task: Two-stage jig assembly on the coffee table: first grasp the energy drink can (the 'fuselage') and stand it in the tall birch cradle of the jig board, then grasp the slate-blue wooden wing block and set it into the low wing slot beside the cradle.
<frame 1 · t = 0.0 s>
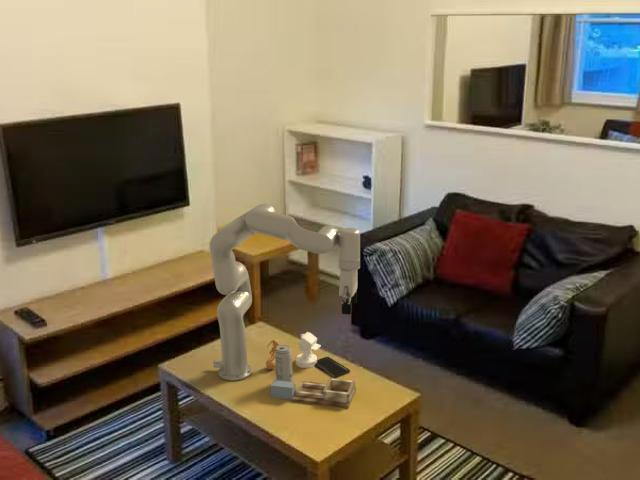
hand: (349, 308, 251), 31 cm above the table, fingers open, 9 cm apart
figurine: (273, 368, 275), on the table
character figurine: (307, 363, 279), on the table
energy drink can: (284, 384, 263), on the table
jig: (324, 395, 255), on the table
wing block: (283, 396, 255), on the table
phone: (331, 369, 275), on the table
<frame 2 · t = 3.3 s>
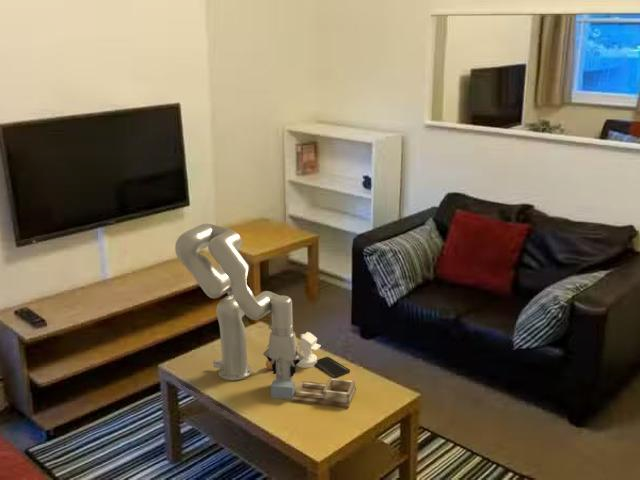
hand: (284, 373, 262), 5 cm above the table, fingers closed on energy drink can, 6 cm apart
energy drink can: (284, 384, 263), on the table, touching gripper
everything else where it was.
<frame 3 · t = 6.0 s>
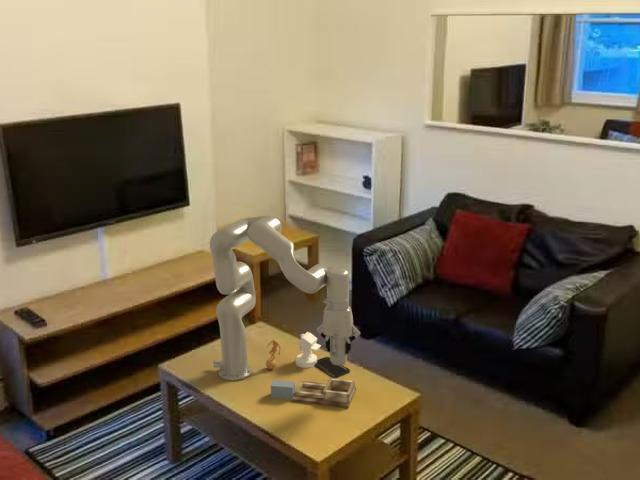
hand: (338, 350, 248), 19 cm above the table, fingers closed on energy drink can, 6 cm apart
energy drink can: (338, 362, 249), point 14 cm above the table, touching gripper
everything else where it was.
when the fingers open (7 cm above the table, at t = 8.6 s): energy drink can drops 1 cm, resting on jig.
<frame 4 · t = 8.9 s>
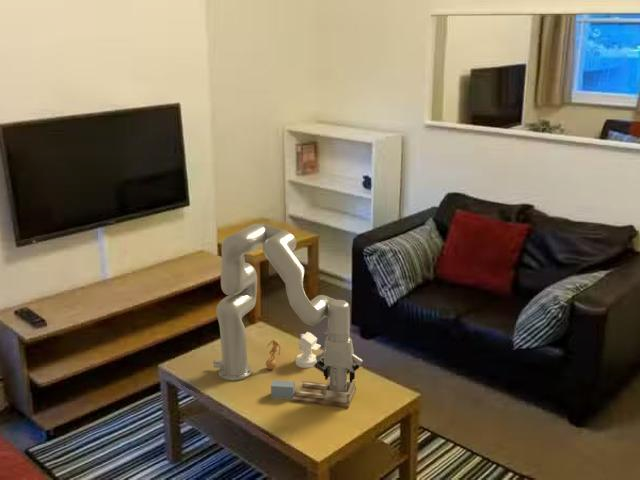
hand: (339, 379, 251), 7 cm above the table, fingers open, 8 cm apart
energy drink can: (338, 395, 254), point 1 cm above the table, touching jig
everything else where it was.
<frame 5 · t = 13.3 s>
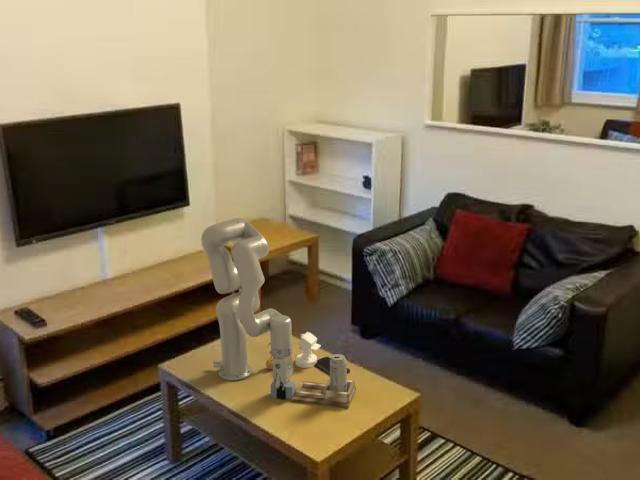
hand: (283, 394, 255), 0 cm above the table, fingers closed on wing block, 4 cm apart
wing block: (283, 395, 255), on the table, touching gripper
everything else where it was.
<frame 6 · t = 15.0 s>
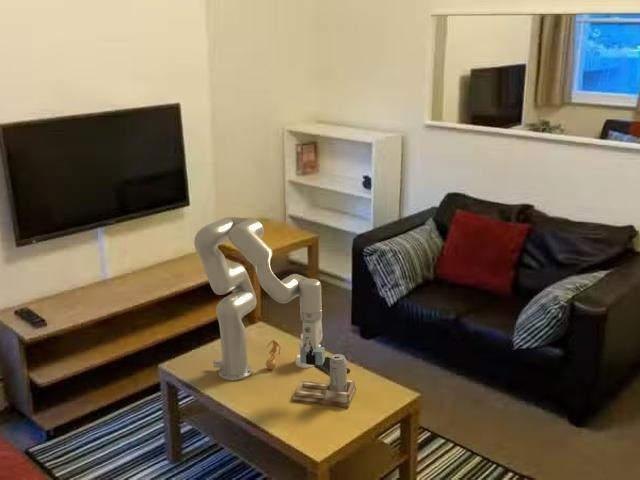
hand: (312, 360, 252), 14 cm above the table, fingers closed on wing block, 4 cm apart
wing block: (312, 361, 252), point 13 cm above the table, touching gripper
everything else where it was.
when the fingers open (3 cm above the table, at t = 17.2 s): wing block drops 2 cm, resting on jig.
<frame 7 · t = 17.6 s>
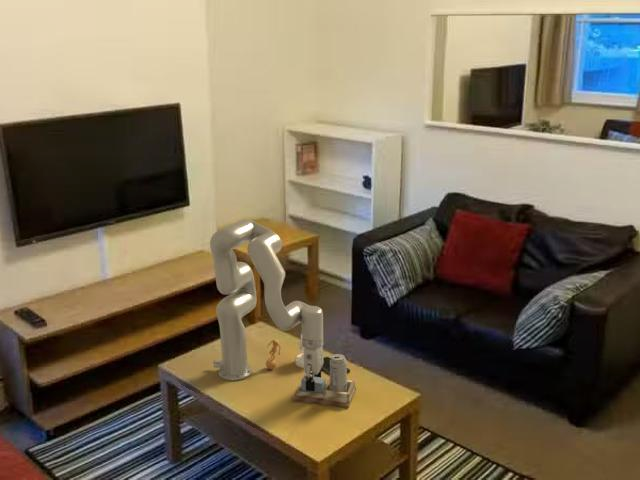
hand: (313, 384, 255), 4 cm above the table, fingers open, 8 cm apart
wing block: (313, 391, 256), point 1 cm above the table, touching jig
everything else where it was.
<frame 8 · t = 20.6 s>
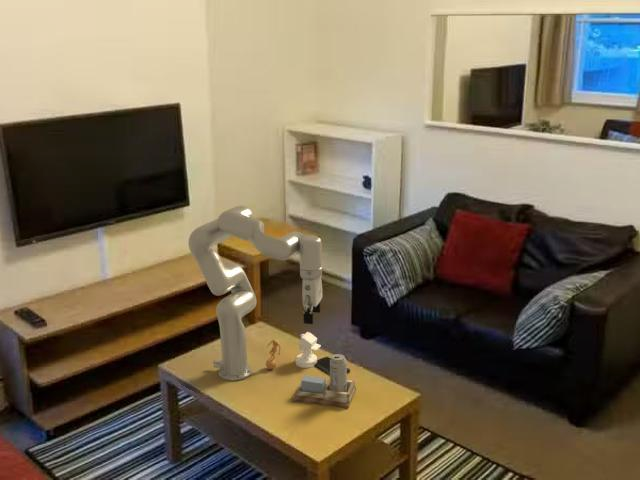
hand: (312, 317, 247), 30 cm above the table, fingers open, 9 cm apart
nothing on the table moved.
at the end: energy drink can 0.3 cm from the target spot on the jig, point 0.8 cm above the jig's base; energy drink can tilted 0°; wing block 0.0 cm from the target spot on the jig, point 1.0 cm above the jig's base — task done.
